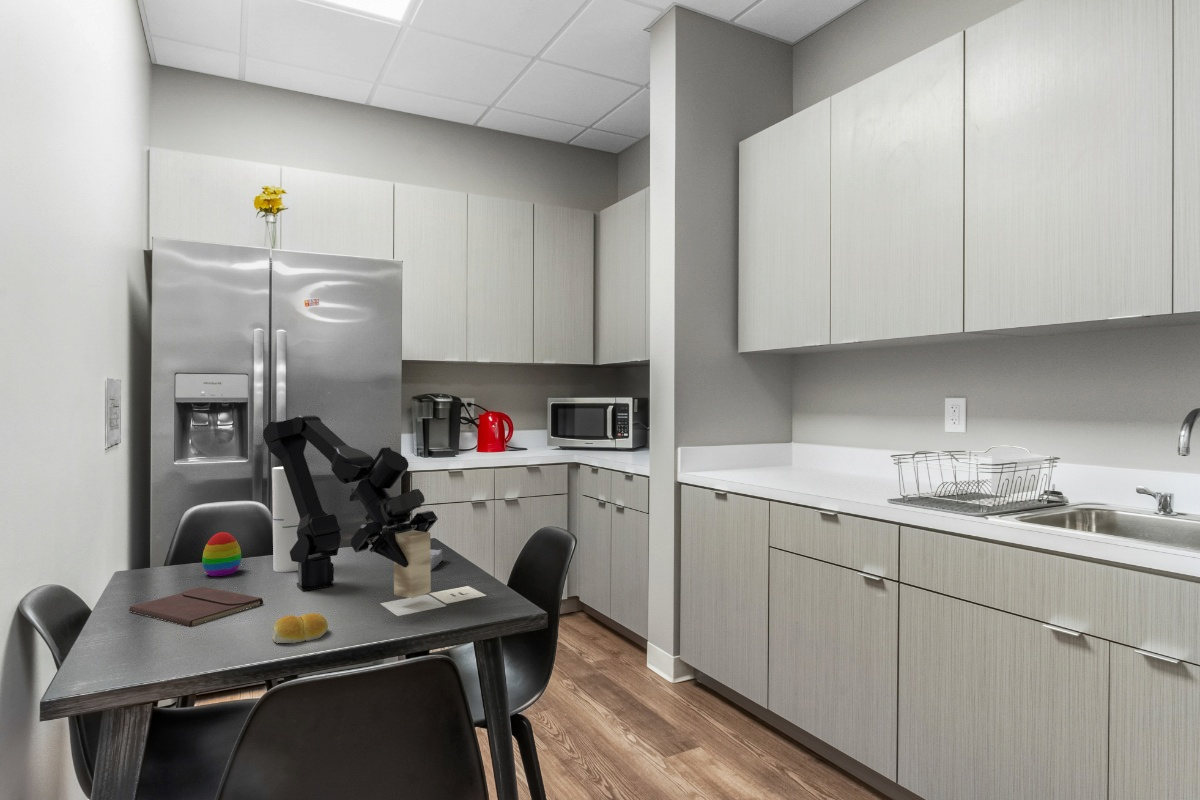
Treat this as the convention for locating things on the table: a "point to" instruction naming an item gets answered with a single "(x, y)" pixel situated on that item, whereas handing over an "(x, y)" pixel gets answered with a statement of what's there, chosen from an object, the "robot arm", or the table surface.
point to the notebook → (196, 605)
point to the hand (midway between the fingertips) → (417, 563)
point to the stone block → (435, 557)
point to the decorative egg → (221, 555)
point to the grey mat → (412, 605)
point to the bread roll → (299, 628)
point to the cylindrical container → (283, 522)
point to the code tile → (457, 594)
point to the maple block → (413, 565)
